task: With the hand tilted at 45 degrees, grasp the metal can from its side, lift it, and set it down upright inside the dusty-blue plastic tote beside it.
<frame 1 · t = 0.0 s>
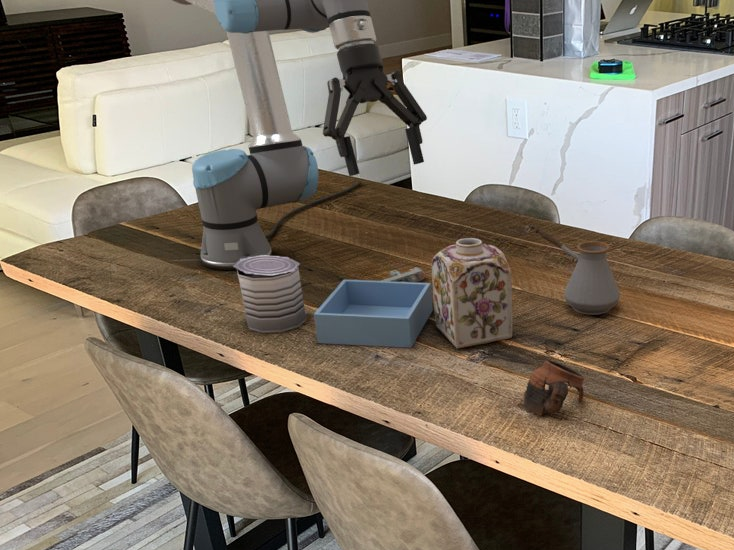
hand: (387, 169, 161), 28 cm above the table, tool tilted 20°, fingers open, 13 cm apart
pottery mug: (553, 407, 141), on the table
decorative jar: (474, 333, 165), on the table
tote: (377, 326, 168), on the table
coffee pot: (570, 303, 179), on the table
can: (276, 322, 169), on the table
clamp: (394, 288, 185), on the table
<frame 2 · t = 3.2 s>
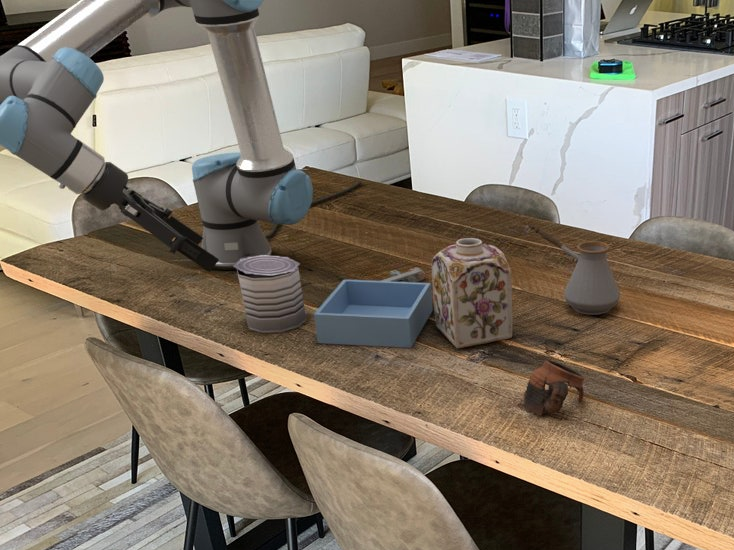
hand: (206, 254, 157), 15 cm above the table, tool tilted 45°, fingers open, 13 cm apart
nothing on the table moved.
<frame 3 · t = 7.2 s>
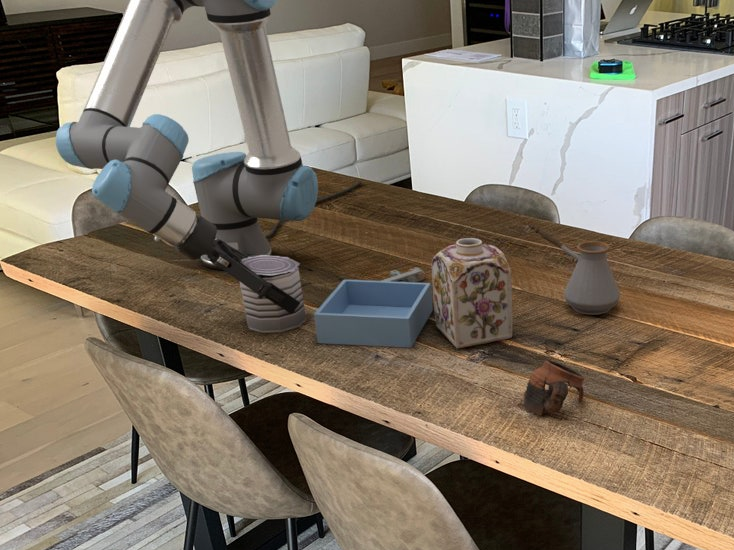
hand: (287, 297, 168), 4 cm above the table, tool tilted 45°, fingers closed on can, 11 cm apart
can: (276, 322, 169), on the table, touching gripper
everything else where it was.
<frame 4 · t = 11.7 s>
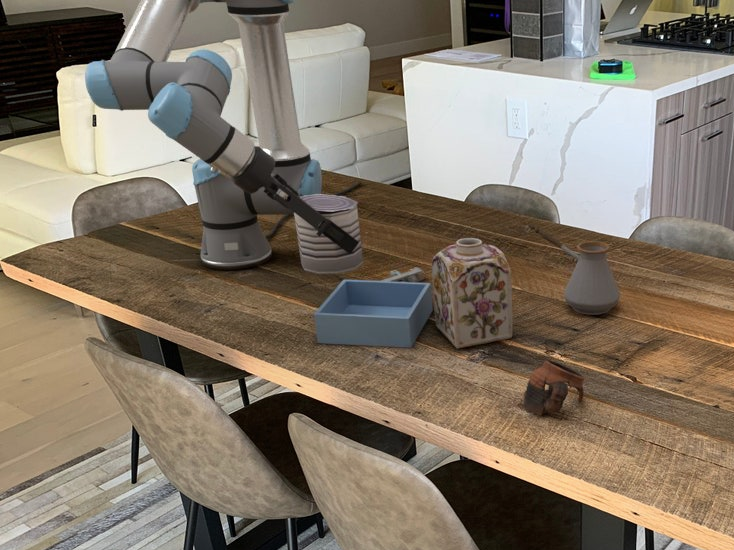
hand: (344, 238, 160), 17 cm above the table, tool tilted 45°, fingers closed on can, 11 cm apart
can: (332, 264, 162), point 12 cm above the table, touching gripper
everything else where it was.
when the fingers open (5 cm above the table, at t = 16.4 s): can stays where it is, resting on tote.
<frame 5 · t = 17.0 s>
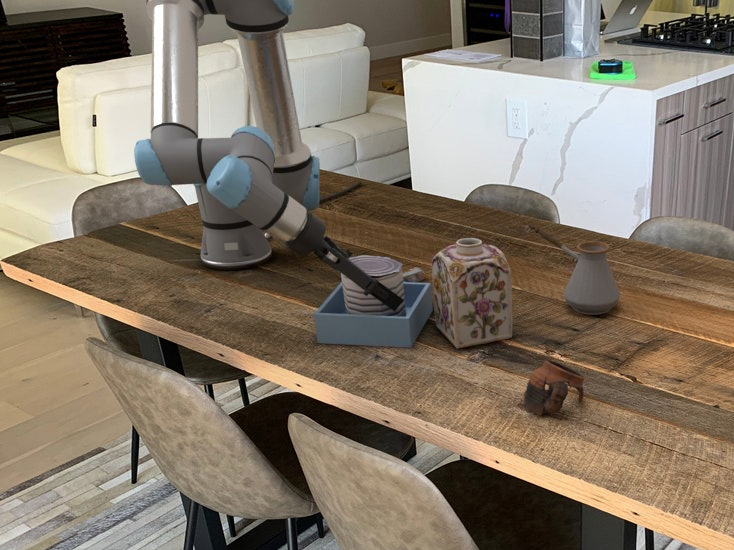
hand: (386, 293, 165), 6 cm above the table, tool tilted 45°, fingers open, 13 cm apart
can: (377, 323, 167), point 1 cm above the table, touching tote
everything else where it was.
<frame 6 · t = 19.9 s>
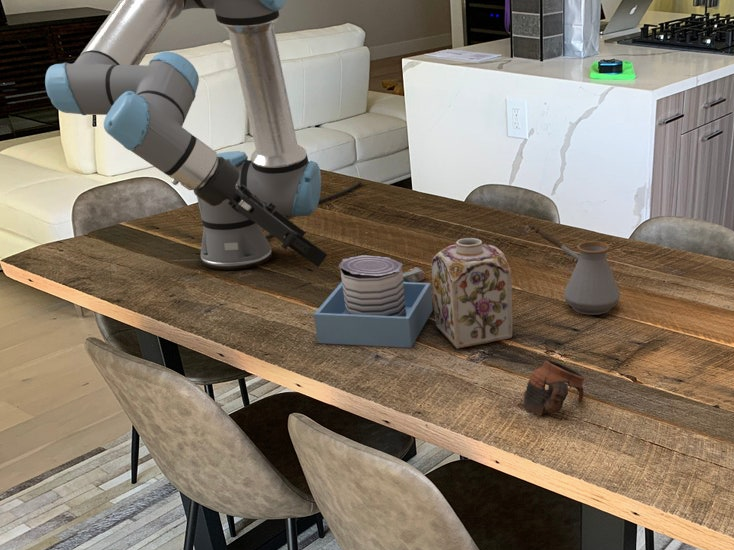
hand: (311, 248, 154), 17 cm above the table, tool tilted 45°, fingers open, 13 cm apart
nothing on the table moved.
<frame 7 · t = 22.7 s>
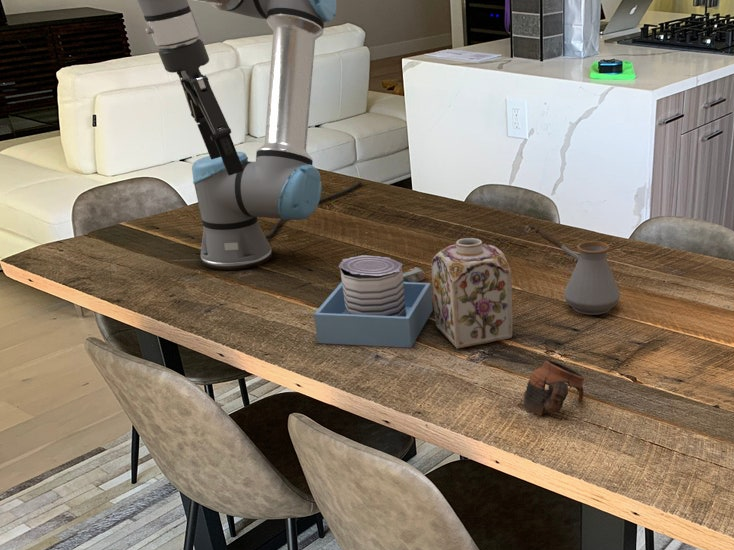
hand: (226, 164, 160), 28 cm above the table, tool pointing down, fingers open, 13 cm apart
nothing on the table moved.
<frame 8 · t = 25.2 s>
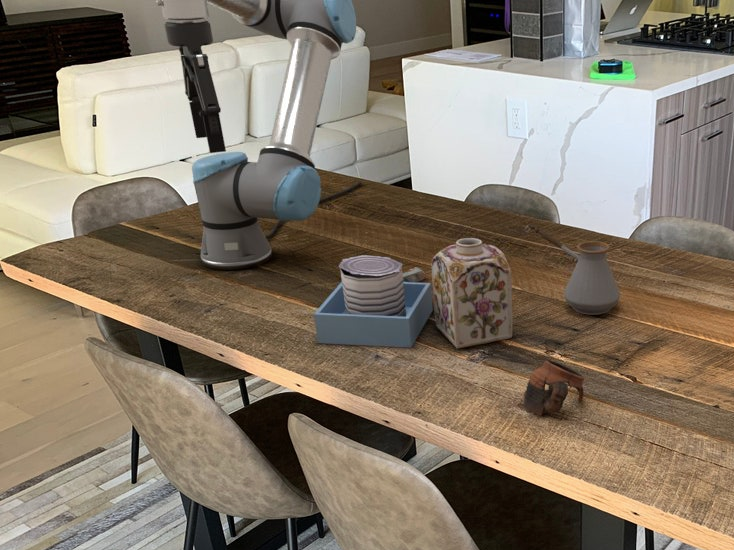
hand: (210, 144, 164), 31 cm above the table, tool pointing down, fingers open, 13 cm apart
nothing on the table moved.
at the end: can inside the target area in the tote (0.0 cm from its centre), point 0.6 cm above the tote's base; can tilted 0°; the gripper is holding nothing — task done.
